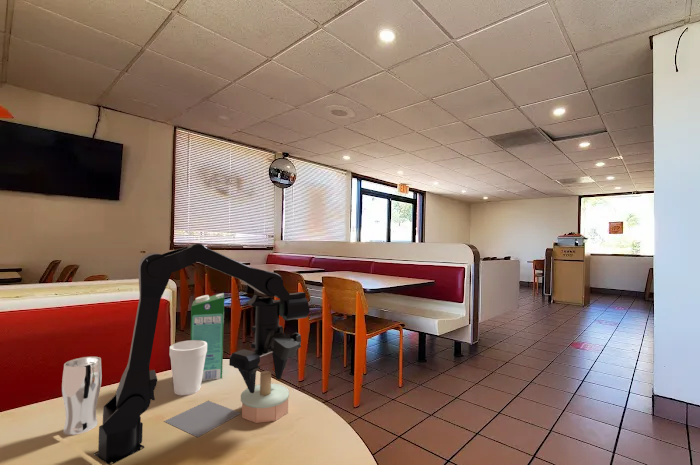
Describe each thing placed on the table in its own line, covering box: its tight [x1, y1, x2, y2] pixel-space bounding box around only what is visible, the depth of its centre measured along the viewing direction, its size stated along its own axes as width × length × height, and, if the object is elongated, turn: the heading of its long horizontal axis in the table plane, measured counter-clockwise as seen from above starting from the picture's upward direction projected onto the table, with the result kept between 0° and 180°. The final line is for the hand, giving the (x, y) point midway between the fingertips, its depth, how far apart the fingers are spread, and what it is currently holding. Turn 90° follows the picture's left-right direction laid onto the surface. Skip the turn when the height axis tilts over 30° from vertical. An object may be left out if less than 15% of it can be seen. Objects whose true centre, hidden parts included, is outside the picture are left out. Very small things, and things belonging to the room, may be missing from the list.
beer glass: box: [61, 356, 103, 436], centre depth 77 cm, size 7×7×15 cm
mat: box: [163, 400, 242, 438], centre depth 82 cm, size 12×12×1 cm
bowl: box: [241, 398, 289, 424], centre depth 86 cm, size 11×11×4 cm
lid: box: [240, 370, 290, 408], centre depth 86 cm, size 12×12×6 cm
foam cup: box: [169, 339, 207, 396], centre depth 96 cm, size 10×9×13 cm
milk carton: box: [190, 292, 225, 382], centre depth 107 cm, size 9×9×25 cm
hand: (265, 385), depth 86 cm, fingers open, 9 cm apart
